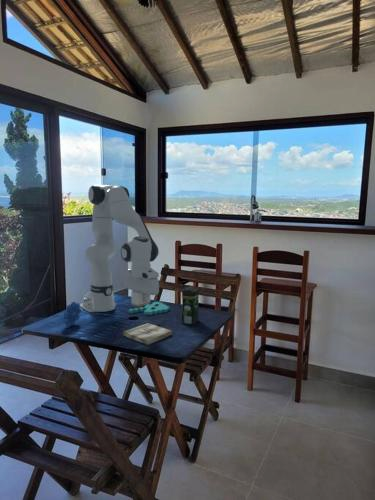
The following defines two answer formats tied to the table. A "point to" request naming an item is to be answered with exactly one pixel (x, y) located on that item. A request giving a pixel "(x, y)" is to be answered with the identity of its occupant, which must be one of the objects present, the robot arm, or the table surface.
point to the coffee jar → (190, 305)
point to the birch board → (147, 333)
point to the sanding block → (138, 298)
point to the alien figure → (151, 308)
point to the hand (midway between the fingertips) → (140, 300)
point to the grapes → (71, 314)
